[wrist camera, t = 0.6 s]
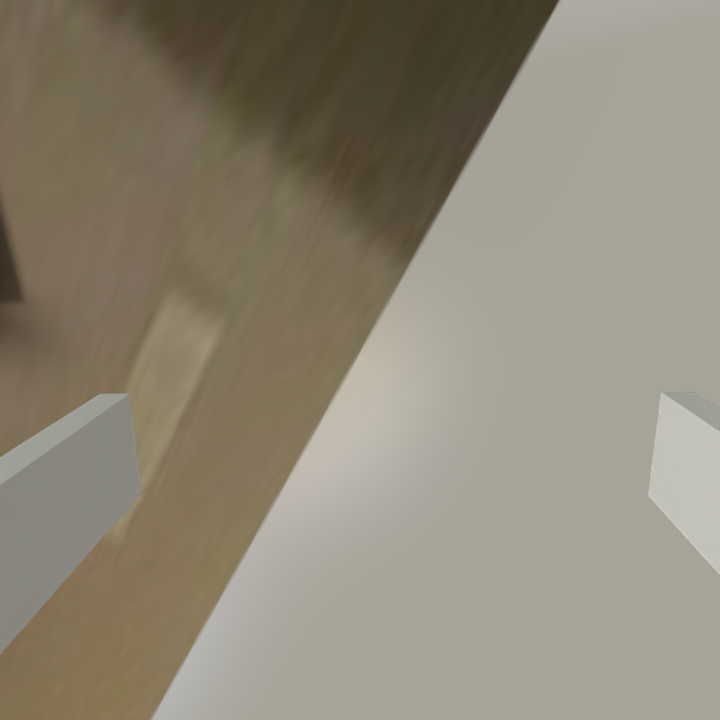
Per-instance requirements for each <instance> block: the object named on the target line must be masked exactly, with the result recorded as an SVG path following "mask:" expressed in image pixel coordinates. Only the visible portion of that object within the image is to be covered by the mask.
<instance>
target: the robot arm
mask: <svg viewBox="0 0 720 720" xmlns="http://www.w3.org/2000/svg"><path fill="white" fill-rule="evenodd" d="M141 493H142V485H141V478H140V470H139V463H138V456H137V448H136V441H135V434H134V426H133V419H132V412H131V404H130V397H129V394H99V395H97V396H96V397H94V398H93V399H91V400H90V401H88V402H86V403H85V404H83V405H82V406H80V407H79V408H77V409H75V410H74V411H72V412H71V413H69V414H68V415H66V416H64V417H63V418H61V419H60V420H58V421H57V422H55V423H53V424H52V425H50V426H49V427H47V428H46V429H44V430H42V431H41V432H39V433H38V434H36V435H34V436H33V437H31V438H30V439H28V440H27V441H25V442H23V443H22V444H20V445H19V446H17V447H16V448H14V449H12V450H11V451H9V452H8V453H6V454H5V455H3V456H1V457H0V654H1V653H2V652H3V651H4V650H5V648H6V647H7V646H8V645H9V644H10V643H11V642H12V640H13V639H14V638H15V637H16V636H17V635H18V634H19V632H20V631H21V630H22V629H23V628H24V627H25V626H26V624H27V623H28V622H29V621H30V620H31V619H32V618H33V616H34V615H35V614H36V613H37V612H38V611H39V610H40V608H41V607H42V606H43V605H44V604H45V603H46V602H47V600H48V599H49V598H50V597H51V596H52V595H53V594H54V592H55V591H56V590H57V589H58V588H59V587H60V586H61V584H62V583H63V582H64V581H65V580H66V579H67V578H68V576H69V575H70V574H71V573H72V572H73V571H74V570H75V568H76V567H77V566H78V565H79V564H80V563H81V562H82V560H83V559H84V558H85V557H86V556H87V555H88V554H89V553H90V551H91V550H92V549H93V548H94V547H95V546H96V545H97V543H98V542H99V541H100V540H101V539H102V538H103V537H104V535H105V534H106V533H107V532H108V531H109V530H110V529H111V527H112V526H113V525H114V524H115V523H116V522H117V521H118V519H119V518H120V517H121V516H122V515H123V514H124V513H125V511H126V510H127V509H128V508H129V507H130V506H131V505H132V503H133V502H134V501H135V500H136V499H137V498H138V497H139V495H140V494H141ZM648 496H649V497H650V498H651V499H652V500H653V501H654V503H655V504H656V505H657V506H658V507H659V508H660V509H661V510H662V511H663V513H664V514H665V515H666V516H667V517H668V518H669V519H670V520H671V521H672V523H673V524H674V525H675V526H676V527H677V528H678V529H679V530H680V531H681V532H682V534H683V535H684V536H685V537H686V538H687V539H688V540H689V541H690V542H691V544H692V545H693V546H694V547H695V548H696V549H697V550H698V551H699V552H700V554H701V555H702V556H703V557H704V558H705V559H706V560H707V561H708V562H709V564H710V565H711V566H712V567H713V568H714V569H715V570H716V571H717V572H718V573H719V575H720V407H718V406H716V405H715V404H713V403H711V402H710V401H708V400H706V399H705V398H703V397H701V396H700V395H698V394H696V393H695V392H661V397H660V405H659V413H658V421H657V430H656V438H655V445H654V453H653V461H652V468H651V476H650V484H649V492H648Z"/></svg>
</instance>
